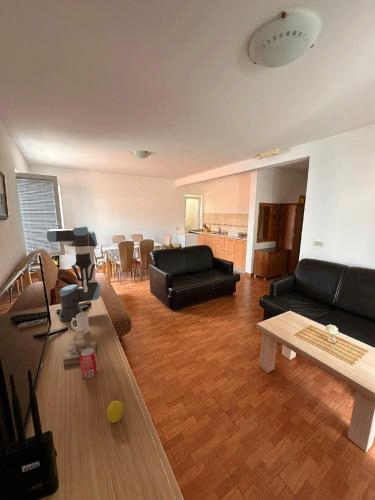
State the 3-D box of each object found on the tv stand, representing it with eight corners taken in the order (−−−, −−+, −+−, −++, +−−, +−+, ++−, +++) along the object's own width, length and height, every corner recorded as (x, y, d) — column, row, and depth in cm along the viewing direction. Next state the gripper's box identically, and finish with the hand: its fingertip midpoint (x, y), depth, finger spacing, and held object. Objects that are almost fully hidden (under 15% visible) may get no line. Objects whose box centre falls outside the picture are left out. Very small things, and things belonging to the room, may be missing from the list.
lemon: (105, 420, 77) (103, 402, 76) (119, 411, 81) (118, 393, 79) (111, 431, 73) (110, 412, 72) (126, 421, 77) (125, 402, 76)
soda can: (91, 367, 104) (89, 345, 102) (100, 372, 101) (99, 349, 99) (78, 376, 98) (76, 353, 96) (87, 382, 95) (85, 358, 93)
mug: (88, 328, 140) (87, 311, 138) (89, 332, 134) (88, 315, 132) (71, 332, 135) (70, 314, 133) (72, 337, 129) (70, 319, 127)
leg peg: (78, 353, 115) (75, 329, 112) (86, 351, 116) (84, 328, 114) (76, 357, 111) (74, 333, 109) (85, 356, 112) (82, 332, 110)
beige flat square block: (69, 349, 118) (69, 343, 117) (96, 344, 122) (96, 339, 122) (63, 366, 105) (63, 359, 104) (94, 360, 109) (93, 354, 109)
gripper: (68, 254, 117) (72, 294, 121) (94, 253, 121) (97, 292, 125) (71, 252, 124) (75, 290, 128) (95, 251, 128) (98, 288, 132)
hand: (85, 291), depth 126 cm, fingers closed
